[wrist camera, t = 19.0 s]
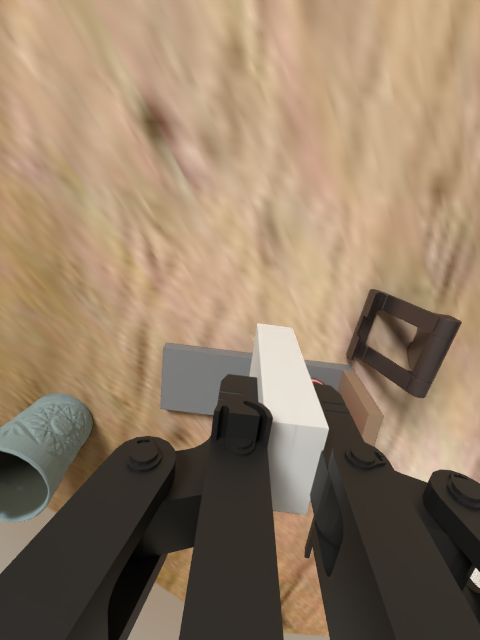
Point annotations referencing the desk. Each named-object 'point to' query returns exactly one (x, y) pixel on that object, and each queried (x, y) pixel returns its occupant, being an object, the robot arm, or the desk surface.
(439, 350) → the portable electronic device stand
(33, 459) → the embossed green cup
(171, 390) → the shelf board
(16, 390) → the desk surface
